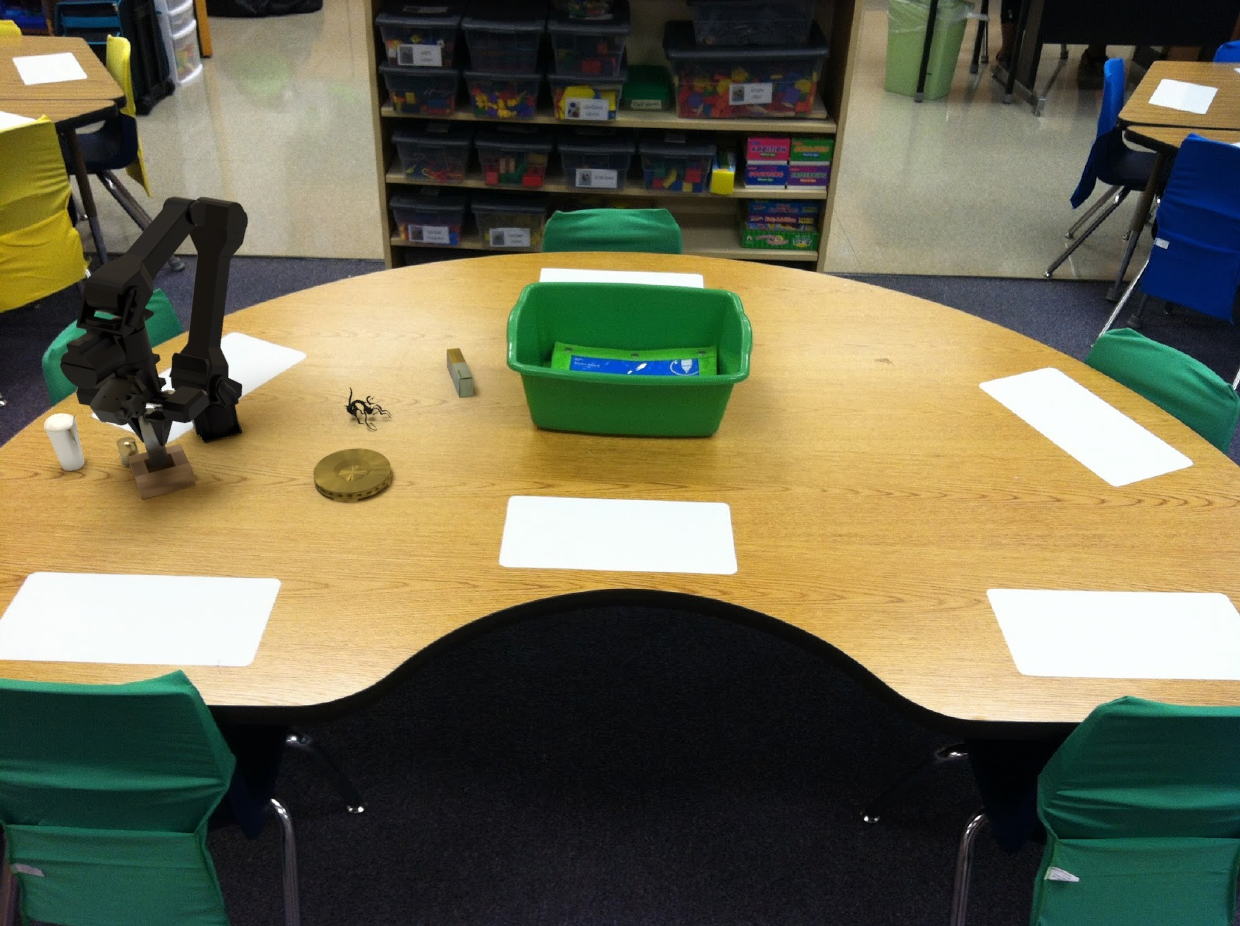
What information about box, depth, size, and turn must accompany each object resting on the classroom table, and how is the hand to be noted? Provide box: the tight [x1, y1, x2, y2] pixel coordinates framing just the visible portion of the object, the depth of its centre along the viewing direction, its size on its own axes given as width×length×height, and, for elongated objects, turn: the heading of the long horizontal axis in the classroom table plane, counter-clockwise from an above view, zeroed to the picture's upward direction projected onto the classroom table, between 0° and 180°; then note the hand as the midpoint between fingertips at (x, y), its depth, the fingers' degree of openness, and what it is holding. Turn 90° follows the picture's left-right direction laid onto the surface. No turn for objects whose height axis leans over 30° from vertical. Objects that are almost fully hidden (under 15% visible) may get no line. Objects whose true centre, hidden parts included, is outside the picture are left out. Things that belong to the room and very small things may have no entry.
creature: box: [344, 386, 392, 431], centre depth 180 cm, size 8×5×8 cm
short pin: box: [116, 436, 140, 468], centre depth 167 cm, size 3×3×4 cm
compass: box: [312, 448, 393, 503], centre depth 166 cm, size 12×12×2 cm
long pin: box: [138, 407, 169, 466], centre depth 160 cm, size 3×3×9 cm
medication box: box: [446, 347, 474, 399], centre depth 192 cm, size 12×3×4 cm, turn 19°
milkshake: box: [43, 413, 85, 472], centre depth 163 cm, size 4×5×10 cm
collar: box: [128, 443, 197, 500], centre depth 164 cm, size 8×8×3 cm
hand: (154, 443), depth 161 cm, fingers closed on long pin, 3 cm apart
